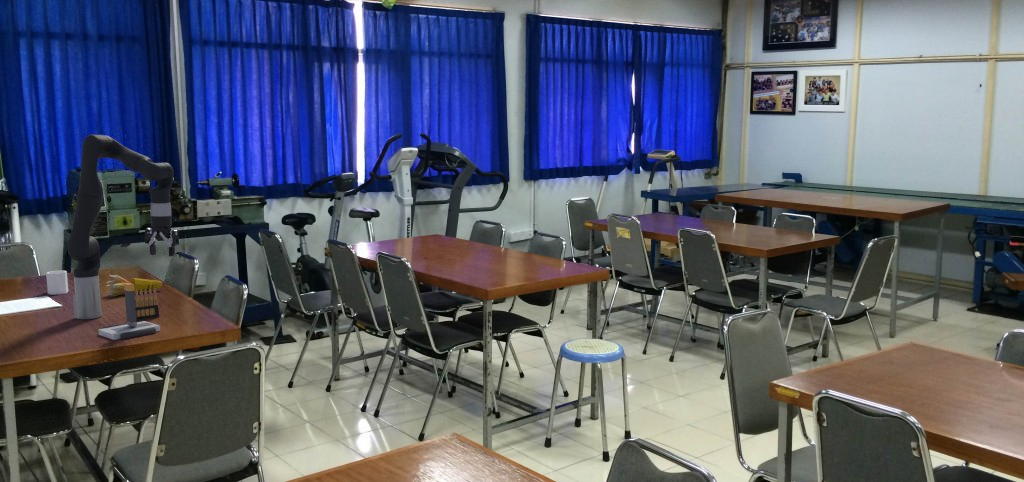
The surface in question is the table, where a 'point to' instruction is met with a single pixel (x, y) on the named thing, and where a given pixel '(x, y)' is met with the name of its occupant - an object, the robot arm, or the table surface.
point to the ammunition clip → (146, 305)
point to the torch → (138, 283)
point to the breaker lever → (130, 304)
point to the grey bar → (114, 325)
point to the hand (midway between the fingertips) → (162, 255)
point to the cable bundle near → (138, 333)
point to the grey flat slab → (125, 329)
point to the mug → (57, 282)
